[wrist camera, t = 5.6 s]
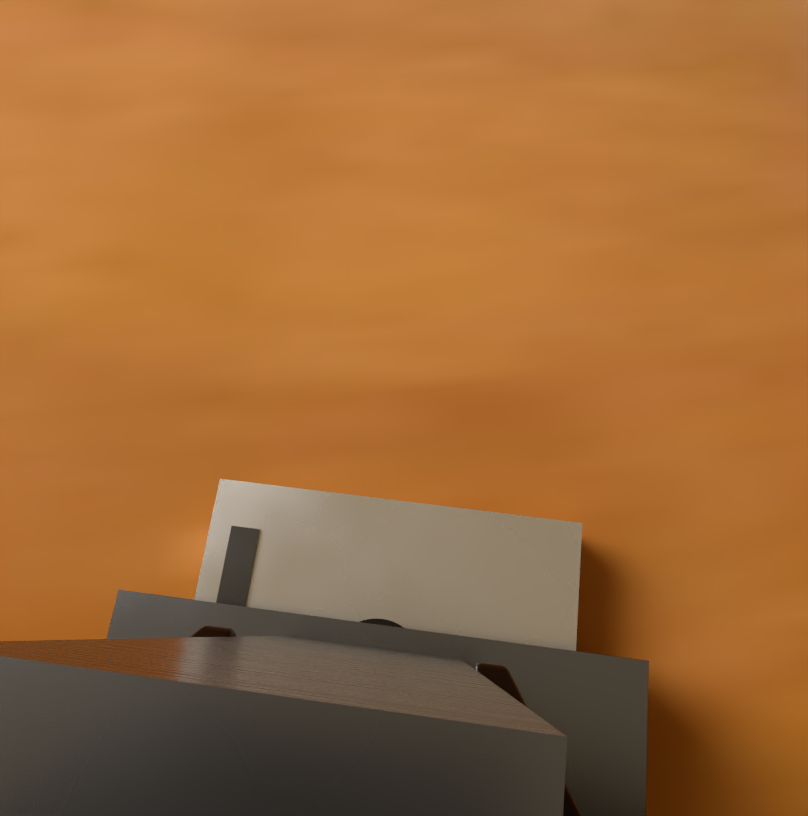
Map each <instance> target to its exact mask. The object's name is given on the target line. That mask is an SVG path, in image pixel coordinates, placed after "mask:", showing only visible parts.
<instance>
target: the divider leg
mask: <svg viewBox="0 0 808 816" xmlns="http://www.w3.org/2000/svg"><path fill="white" fill-rule="evenodd" d="M206 625H213V626H220V627H228V628H231V629H233V630H234V631H235V633H236V637H191V636H192V635H193V634H194V633H196V632H197V631H198V630H199V629H200V628H202V627H204V626H206ZM478 662H485V663H492V664H500V665H504V666H505V667H507V669H508V670H509V672H510V674H511V676H512V678H513V680H514V682H515V684H516V686H517V688H518V690H519V692H520V694H521V696H522V698H523V700H524V702H525V704H526V706H527V707H526V706H524V705H523V704H522V703H520V702H519V701H518V700H516V699H515V698H513V697H512V696H511V695H509V694H508V693H507V692H505V691H504V690H502V689H501V688H500V687H498V686H497V685H496V684H494V683H493V682H491V681H490V680H489V679H487V678H486V677H485V676H483V675H482V674H480V673H479V672H478V671H476V670H474V667H475V665H476V664H477V663H478ZM648 664H649V661H645V660H638V659H630V658H623V657H616V656H608V655H601V654H593V653H586V652H578V651H571V650H563V649H556V648H549V647H541V646H534V645H526V644H519V643H511V642H504V641H496V640H489V639H482V638H474V637H467V636H459V635H452V634H444V633H437V632H429V631H422V630H415V629H407V628H400V627H392V626H385V625H377V624H370V623H362V622H355V621H348V620H340V619H333V618H325V617H318V616H310V615H303V614H295V613H288V612H281V611H273V610H266V609H258V608H251V607H243V606H236V605H228V604H221V603H213V602H206V601H199V600H191V599H184V598H176V597H169V596H161V595H154V594H146V593H139V592H132V591H124V590H119V591H118V595H117V599H116V603H115V607H114V611H113V615H112V619H111V623H110V627H109V631H108V635H107V639H91V640H43V641H0V816H563V807H564V788H565V783H566V785H567V787H568V789H569V791H570V793H571V795H572V797H573V799H574V801H575V803H576V805H577V807H578V809H579V811H580V813H581V815H582V816H646V769H647V716H648Z"/></svg>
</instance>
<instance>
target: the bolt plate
mask: <svg viewBox="0 0 808 816" xmlns="http://www.w3.org/2000/svg"><path fill="white" fill-rule="evenodd" d="M581 540H582V523H578V522H570V521H561V520H553V519H545V518H537V517H529V516H520V515H512V514H504V513H496V512H488V511H480V510H471V509H463V508H455V507H447V506H439V505H430V504H422V503H414V502H406V501H398V500H390V499H381V498H373V497H365V496H357V495H349V494H340V493H332V492H324V491H316V490H308V489H300V488H291V487H283V486H275V485H267V484H259V483H250V482H242V481H234V480H226V479H220V481H219V486H218V491H217V495H216V500H215V505H214V509H213V514H212V519H211V524H210V528H209V533H208V538H207V542H206V547H205V552H204V556H203V561H202V566H201V571H200V575H199V580H198V585H197V589H196V594H195V599H194V600H199V601H206V602H213V603H221V604H228V605H236V606H243V607H251V608H258V609H266V610H273V611H281V612H288V613H295V614H303V615H310V616H318V617H325V618H333V619H340V620H348V621H355V622H362V623H370V624H377V625H385V626H392V627H400V628H407V629H415V630H422V631H429V632H437V633H444V634H452V635H459V636H467V637H474V638H482V639H489V640H496V641H504V642H511V643H519V644H526V645H534V646H541V647H549V648H556V649H563V650H571V651H576V641H577V621H578V601H579V581H580V560H581Z"/></svg>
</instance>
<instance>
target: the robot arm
mask: <svg viewBox="0 0 808 816" xmlns="http://www.w3.org/2000/svg"><path fill="white" fill-rule="evenodd" d="M191 637H236V633H235V631H234V630H233V629H231V628H228V627H220V626H213V625H206V626H204V627H202V628H200V629H199V630H198V631H197V632H196V633H194V634H193V635H192V636H191ZM474 670H476V671H478V672H479V673H480V674H482V675H483V676H485V677H486V678H487V679H489V680H490V681H491V682H493V683H494V684H496V685H497V686H498V687H500V688H501V689H502V690H504V691H505V692H507V693H508V694H509V695H511V696H512V697H513V698H515V699H516V700H518V701H519V702H520V703H522V704H523V705H524V706H526V704H525V702H524V700H523V698H522V696H521V694H520V692H519V690H518V688H517V686H516V684H515V682H514V680H513V678H512V676H511V674H510V672H509V670H508V669H507V667H505V666H504V665H500V664H492V663H485V662H478V663H477V664H476V665H475V667H474ZM526 707H527V706H526ZM563 816H582V815H581V813H580V811H579V809H578V807H577V805H576V803H575V801H574V799H573V797H572V795H571V793H570V791H569V789H568V787H567V785H566V783H565V788H564V807H563Z"/></svg>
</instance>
